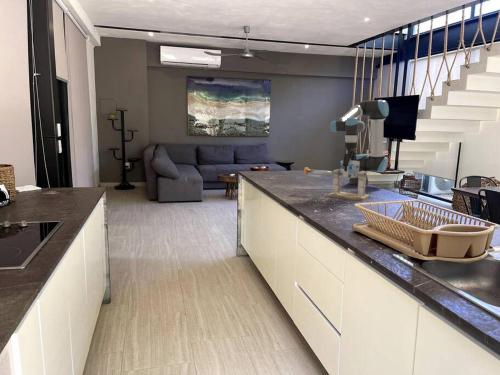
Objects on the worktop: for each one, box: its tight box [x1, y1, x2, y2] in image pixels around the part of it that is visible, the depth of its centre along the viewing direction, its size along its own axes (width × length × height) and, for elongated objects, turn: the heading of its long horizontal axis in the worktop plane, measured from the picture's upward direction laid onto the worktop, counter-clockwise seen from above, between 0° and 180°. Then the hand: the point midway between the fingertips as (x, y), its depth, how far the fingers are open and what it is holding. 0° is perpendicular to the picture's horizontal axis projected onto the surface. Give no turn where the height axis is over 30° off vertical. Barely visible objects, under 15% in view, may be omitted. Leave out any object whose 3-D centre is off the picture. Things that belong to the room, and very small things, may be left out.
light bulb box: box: [339, 159, 360, 179], centre depth 246 cm, size 11×7×11 cm, turn 105°
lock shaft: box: [302, 166, 334, 176], centre depth 259 cm, size 5×24×5 cm, turn 55°
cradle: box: [326, 168, 371, 202], centre depth 248 cm, size 14×24×18 cm, turn 55°
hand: (349, 175), depth 247 cm, fingers closed on light bulb box, 12 cm apart
